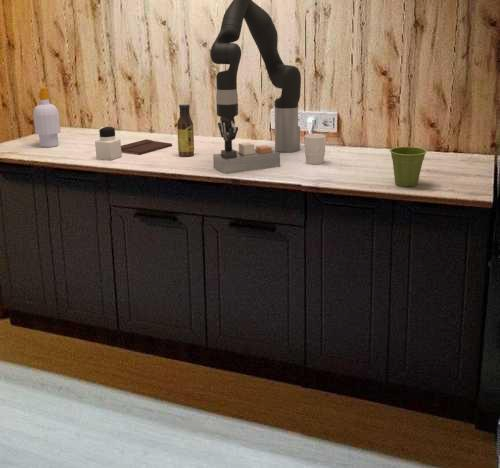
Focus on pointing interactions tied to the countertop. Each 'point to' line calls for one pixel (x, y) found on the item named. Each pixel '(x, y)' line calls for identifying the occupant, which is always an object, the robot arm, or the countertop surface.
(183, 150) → the sauce bottle
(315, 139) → the grey cup
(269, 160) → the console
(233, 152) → the charcoal key
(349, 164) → the countertop surface
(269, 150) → the terracotta key
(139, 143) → the notebook
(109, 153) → the medicine bottle
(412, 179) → the plant pot
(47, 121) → the soap bottle
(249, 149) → the off-white cube
